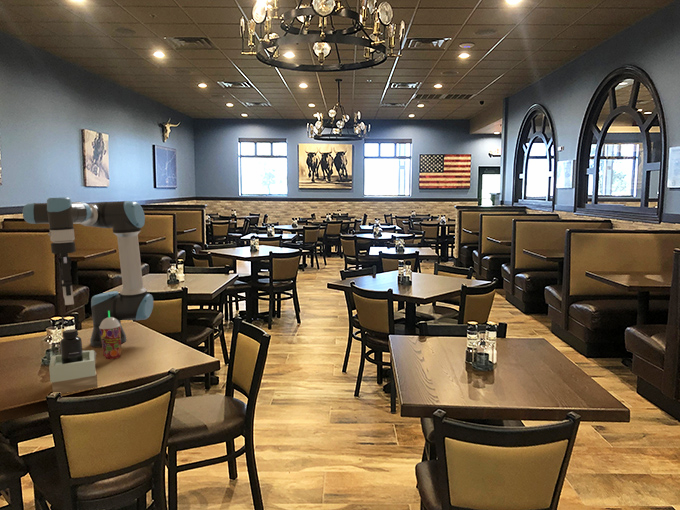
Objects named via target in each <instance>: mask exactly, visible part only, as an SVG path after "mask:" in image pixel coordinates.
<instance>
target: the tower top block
mask: <svg viewBox="0 0 680 510" xmlns="http://www.w3.org/2000/svg"><path fill="white" fill-rule="evenodd" d="M82 351H83V352H82V353H83V361H80V362H73V363H66V364H62V359H61V354H57V355H56V354H55V355H51V356H50V362H49V366H48V369H49V380H50V384H52V383H53V382H59V381H65V380H71V379H77V378H83V377H90V376H96V374H97V372H96V373H95V370H96V360H95V359H94V351H95V349H91V350H90V351H84V350H82Z"/></svg>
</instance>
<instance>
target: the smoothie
mask: <svg viewBox="0 0 680 510" xmlns="http://www.w3.org/2000/svg"><path fill="white" fill-rule="evenodd" d="M121 326H122V323H121V324H120V323H119V321H118V320H117V319H116V318H114V317H110V311H108V317H107V318H105V319H104V320H103V321H102V322H101V324H100V326H99V329H100V335H101V342H102V347H101V348H102V354H103V356H104V358H105V360H115V359H116V360H117V359H119V358H120V356H121V354H122V343H121Z"/></svg>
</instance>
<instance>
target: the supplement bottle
mask: <svg viewBox="0 0 680 510" xmlns="http://www.w3.org/2000/svg"><path fill="white" fill-rule="evenodd" d="M78 331H79V330H78V329H75V328H73V329H71V328H70V329H65V330H63V331H62V339H60V342H59V343H60V355H61V359H62V364H66V363H73V362H80V361H83V353H82V351H83V343H82V338H81V337H80V336H79V333H78Z"/></svg>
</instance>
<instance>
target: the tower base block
mask: <svg viewBox="0 0 680 510" xmlns="http://www.w3.org/2000/svg"><path fill="white" fill-rule="evenodd" d="M95 373H96V376H90V377H83V378H77V379H71V380H65V381H59V382H53V383H51V386H52V387H51V389H52V393H53V392H61V393H65V394H68V393H67V392H70V393H74V392H73V391H75V392H80V391H84V390H91V389H95V387H96V388H98V387H99V385H98V383H99V382H98V373H97V371H96V369H95ZM79 390H80V391H79Z"/></svg>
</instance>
